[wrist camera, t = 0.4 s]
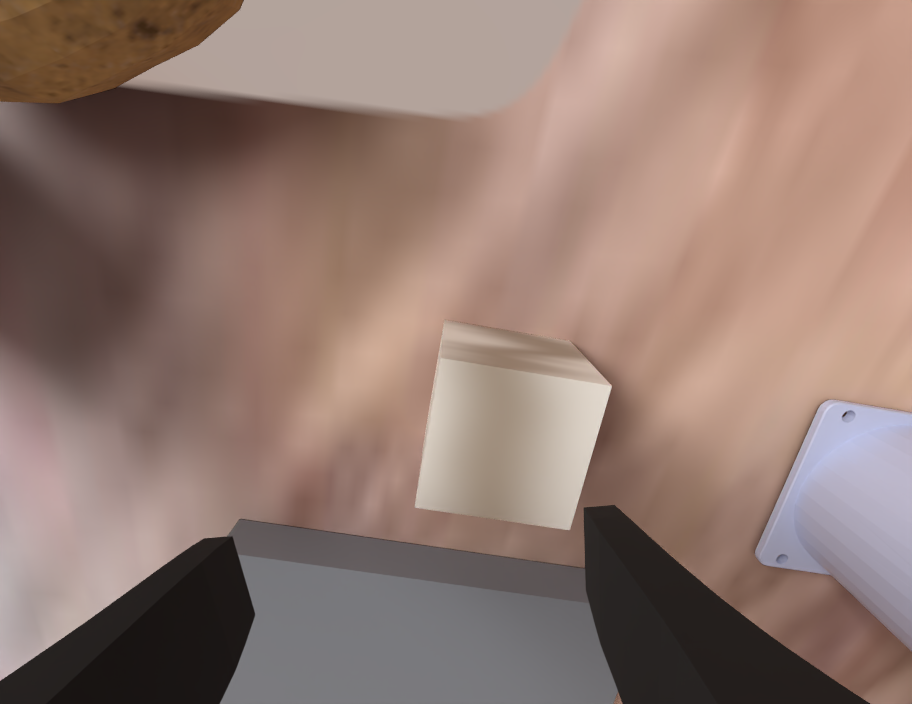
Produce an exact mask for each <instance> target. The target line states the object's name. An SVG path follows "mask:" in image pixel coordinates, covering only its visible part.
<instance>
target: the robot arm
mask: <svg viewBox="0 0 912 704" xmlns="http://www.w3.org/2000/svg"><path fill="white" fill-rule="evenodd" d="M846 411H847V414H846V415H845V416H844V417H842V415H843V414H844V413H845V412H846ZM584 538H585V580H586V593H587V597H588V601H589V604H590V608H591V612H592V616H593V619H594V623H595V627H596V630H597V634H598V637H599V641H600V645H601V647H602V650H603V653H604V655H605V658H606V661H607V663H608V666H609V668H610V671H611V674H612V676H613V679H614V682H615V684H616V687H617V690H618V692H619V695H620V697H621V700H622V703H623V704H870V703H868V702H867V701H865V700H864V699H862V698H861V697H859V696H858V695H856V694H854V693H853V692H851V691H850V690H848V689H847V688H845V687H844V686H842V685H841V684H839V683H838V682H836V681H835V680H833V679H832V678H830V677H829V676H827V675H826V674H824V673H823V672H821V671H820V670H819V669H817V668H816V667H814V666H813V665H811V664H810V663H808V662H807V661H805V660H804V659H802V658H801V657H800V656H798V655H797V654H795V653H794V652H792V651H791V650H789V649H788V648H786V647H785V646H784V645H782V644H781V643H779V642H778V641H777V640H775V639H774V638H773V637H771V636H770V635H768V634H767V633H766V632H764V631H763V630H762V629H760V628H759V627H758V626H756V625H755V624H754V623H752V622H751V621H750V620H748V619H747V618H746V617H745V616H743V615H742V614H741V613H739V612H738V611H737V610H735V609H734V608H733V607H732V606H730V605H729V604H728V603H726V602H725V601H724V600H723V599H721V598H720V597H719V596H718V595H716V594H715V593H714V592H713V591H711V590H710V589H709V588H708V587H707V586H705V585H704V584H703V583H702V582H701V581H700V580H698V579H697V578H696V577H695V576H694V575H692V574H691V573H690V572H689V571H688V570H687V569H685V568H684V567H683V566H682V565H681V564H679V563H678V562H677V561H676V560H675V559H674V558H673V557H671V556H670V555H669V554H668V553H667V552H666V551H665V550H664V549H662V548H661V547H660V546H659V545H658V544H657V543H656V542H655V541H654V540H652V539H651V538H650V537H649V536H648V535H647V534H646V533H645V532H644V531H643V530H641V529H640V528H639V527H638V526H637V525H636V524H635V523H634V522H633V521H632V520H631V519H629V518H628V517H627V516H626V515H625V514H624V513H623V512H622V511H621V510H620V509H618V508H617V507H616V506H615V505H611V506H599V507H586V508H584ZM779 555H780V556H779ZM755 556H756V558H757V559H758V560H759V561H760V562H761V563H762V564H763V565H766V566H772V567H779V568H785V569H792V570H799V571H806V572H813V573H819V574H826V575H832V576H833V577H834V578H835V579H836V580H837V581H838V582H839V583H840V584H841V585H842V586H843V587H844V588H845V589H846V590H848V591H849V592H850V593H851V594H852V595H853V596H854V597H855V598H856V599H857V600H858V601H859V602H860V603H861V604H862V605H863V606H864V607H865V608H866V609H867V610H869V611H870V612H871V613H872V614H873V615H874V616H875V617H876V618H877V619H878V620H879V621H880V622H881V623H882V624H883V625H884V626H885V627H886V628H887V629H888V630H889V631H891V632H892V633H893V634H894V635H895V636H896V637H897V638H898V639H899V640H900V641H901V642H902V643H903V644H904V645H905V646H906V647H907V648H908V649H909V650H910V651H912V412H906V411H900V410H894V409H888V408H882V407H876V406H870V405H864V404H858V403H852V402H846V401H840V400H828V401H825V402H824V403H823V404H821V405H820V407H819V408H818V410H817V413H816V415H815V417H814V419H813V422H812V424H811V426H810V428H809V431H808V433H807V435H806V437H805V440H804V442H803V444H802V446H801V449H800V451H799V453H798V455H797V458H796V460H795V462H794V465H793V467H792V469H791V471H790V474H789V476H788V478H787V480H786V483H785V485H784V487H783V489H782V492H781V494H780V496H779V498H778V501H777V503H776V505H775V507H774V510H773V512H772V514H771V516H770V519H769V521H768V523H767V525H766V528H765V530H764V532H763V535H762V537H761V539H760V541H759V544H758V546H757V548H756V550H755ZM254 618H255V611H254V608H253V604H252V601H251V598H250V594H249V591H248V587H247V584H246V580H245V577H244V574H243V570H242V567H241V563H240V560H239V556H238V553H237V550H236V546H235V543H234V539H233V536H229V537H217V538H205V539H203V540H201V541H199V542H198V543H196V544H195V545H193V546H191V547H190V548H188V549H187V550H185V551H184V552H183V553H181V554H180V555H178V556H177V557H175V558H174V559H173V560H171V561H170V562H168V563H167V564H165V565H164V566H163V567H161V568H160V569H159V570H157V571H156V572H154V573H153V574H152V575H150V576H149V577H148V578H146V579H145V580H143V581H142V582H141V583H139V584H138V585H137V586H135V587H134V588H132V589H131V590H130V591H128V592H127V593H125V594H124V595H123V596H121V597H120V598H119V599H117V600H116V601H114V602H113V603H112V604H110V605H109V606H108V607H106V608H105V609H103V610H102V611H101V612H99V613H98V614H96V615H95V616H94V617H92V618H91V619H90V620H88V621H87V622H85V623H84V624H83V625H81V626H80V627H78V628H77V629H75V630H74V631H72V632H71V633H69V634H68V635H67V636H65V637H64V638H62V639H61V640H59V641H58V642H56V643H55V644H54V645H52V646H51V647H49V648H48V649H46V650H45V651H43V652H42V653H40V654H39V655H38V656H36V657H35V658H33V659H32V660H30V661H29V662H27V663H26V664H24V665H23V666H22V667H20V668H19V669H17V670H16V671H14V672H13V673H11V674H10V675H8V676H7V677H5V678H4V679H2V680H1V681H0V704H220V702H221V700H222V698H223V696H224V694H225V692H226V690H227V688H228V686H229V684H230V681H231V679H232V677H233V675H234V673H235V671H236V668H237V666H238V663H239V660H240V658H241V655H242V652H243V650H244V647H245V644H246V641H247V638H248V635H249V632H250V629H251V626H252V624H253V621H254Z"/></svg>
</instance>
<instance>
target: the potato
mask: <svg viewBox="0 0 912 704" xmlns="http://www.w3.org/2000/svg"><path fill="white" fill-rule="evenodd" d="M243 1H244V0H0V101H3V102H33V103H61V102H65V101H69V100H73V99H76V98H80V97H84V96H88V95H91V94H95V93H99V92H103V91H106V90H110V89H114V88H116V87H117V86H119V85H121V84H123V83H125V82H127V81H128V80H130V79H132V78H134V77H136V76H138V75H139V74H141V73H143V72H145V71H147V70H149V69H151V68H152V67H154V66H156V65H158V64H160V63H162V62H164V61H167V60H169V59H170V58H173V57H175V56H177V55H179V54H181V53H183V52H185V51H187V50H189V49H191V48H193V47H196V46H198V45H199V44H200V43H201V42H203V41H204V40H205V39H206V38H207V37H208V36H209V35H211V34H212V33H213V32H214V31H215V30H217V29H218V28H219V27H220V26H221V25H222V24H223V23H225V22H226V21H227V20H228V19H229V18H231V17H232V16H233V15H234V14H235V13H236V12H238V11H239V10H240V8H241V6H242V3H243Z"/></svg>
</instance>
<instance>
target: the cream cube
mask: <svg viewBox="0 0 912 704" xmlns="http://www.w3.org/2000/svg"><path fill="white" fill-rule="evenodd" d="M611 388H612V386H611V384H610V383H609V382H608V381H607V380H606V379H605V378H604V377H603V376H602V375H601V374H600V373H599V372H598V370H597V369H596V368H595V367H594V366H593V365H592V364H591V363H590V362H589V361H588V360H587V359H586V358H585V356H584V355H583V354H582V353H581V352H580V351H579V350H578V349H577V348H576V347H575V346H574V345H573V344H572V342H571V341H568V340H562V339H556V338H550V337H545V336H539V335H533V334H527V333H521V332H515V331H509V330H503V329H497V328H491V327H485V326H480V325H474V324H468V323H462V322H456V321H450V320H444V325H443V331H442V337H441V343H440V349H439V355H438V361H437V367H436V372H435V378H434V384H433V390H432V396H431V402H430V408H429V414H428V420H427V426H426V431H425V438H424V445H423V452H422V459H421V466H420V474H419V481H418V488H417V495H416V502H415V508H421V509H427V510H434V511H441V512H448V513H455V514H461V515H468V516H475V517H482V518H489V519H495V520H502V521H509V522H516V523H523V524H529V525H536V526H543V527H550V528H557V529H563V530H570V528H571V524H572V521H573V518H574V514H575V511H576V507H577V504H578V501H579V497H580V494H581V490H582V487H583V483H584V480H585V477H586V473H587V470H588V466H589V463H590V460H591V456H592V453H593V449H594V446H595V443H596V439H597V436H598V432H599V429H600V425H601V422H602V419H603V415H604V412H605V408H606V405H607V402H608V398H609V395H610V391H611Z"/></svg>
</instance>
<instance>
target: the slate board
mask: <svg viewBox="0 0 912 704" xmlns="http://www.w3.org/2000/svg"><path fill="white" fill-rule="evenodd" d="M229 536H233V539H234V543H235V546H236V550H237V553H238V556H239V560H240V563H241V567H242V570H243V574H244V577H245V580H246V584H247V587H248V591H249V594H250V598H251V601H252V604H253V608H254V611H255V618H254V621H253V624H252V626H251V629H250V632H249V635H248V638H247V641H246V644H245V647H244V650H243V652H242V655H241V658H240V660H239V663H238V666H237V668H236V671H235V673H234V675H233V677H232V679H231V681H230V684H229V686H228V688H227V690H226V692H225V694H224V696H223V698H222V700H221V702H220V704H613V703H614V700H615V698H616V695H617V693H618V690H617V687H616V684H615V682H614V679H613V676H612V674H611V671H610V668H609V666H608V663H607V661H606V658H605V655H604V653H603V650H602V647H601V645H600V641H599V637H598V634H597V630H596V627H595V623H594V619H593V616H592V612H591V608H590V604H589V601H588V597H587V593H586V580H585V569H584V568H577V567H570V566H563V565H556V564H549V563H542V562H535V561H528V560H521V559H514V558H507V557H500V556H493V555H486V554H479V553H472V552H465V551H458V550H451V549H444V548H437V547H430V546H423V545H416V544H409V543H402V542H395V541H388V540H381V539H374V538H368V537H361V536H354V535H347V534H340V533H333V532H326V531H319V530H312V529H305V528H298V527H291V526H284V525H277V524H270V523H263V522H256V521H249V520H242V519H239V521H238V522H237V523H236V525H235V526H234V528H233V529H232V530H231V532H230V533H229V535H228V536H227V537H229Z"/></svg>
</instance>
